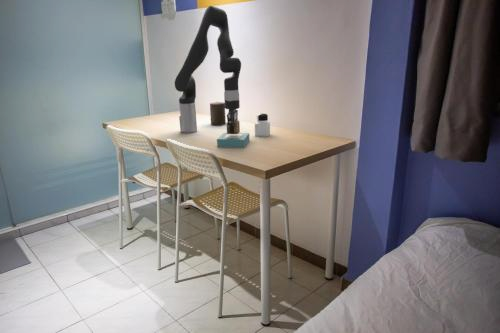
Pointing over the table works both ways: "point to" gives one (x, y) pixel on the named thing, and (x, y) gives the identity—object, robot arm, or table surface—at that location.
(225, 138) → the teal base
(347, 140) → the table surface
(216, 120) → the pillar candle
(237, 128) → the walnut block
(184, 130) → the robot arm
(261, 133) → the medicine bottle
